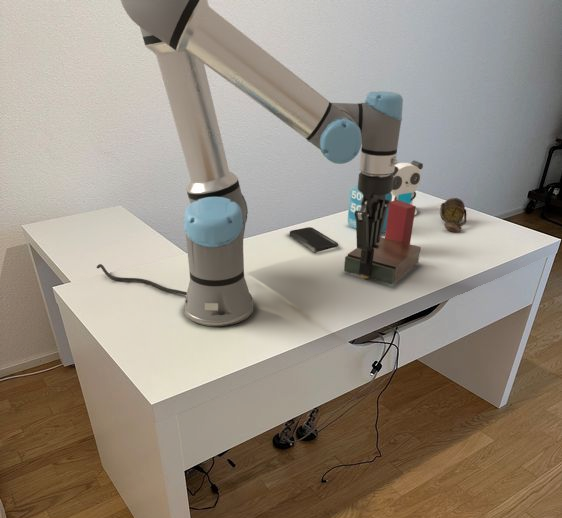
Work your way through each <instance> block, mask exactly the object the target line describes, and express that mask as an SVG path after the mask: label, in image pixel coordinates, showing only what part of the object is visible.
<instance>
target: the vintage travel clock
mask: <svg viewBox="0 0 562 518" xmlns="http://www.w3.org/2000/svg"><path fill="white" fill-rule="evenodd" d="M439 216H440V219H441V220H442V221H443V222H444V224H443V226H444V228H445V229H446V230H447V231H448V232H453V233H457V232H461V231H462V227H463V226H465V224H466V223H467V209H466V206H465V203H464V201H463V200H462V199H460V198H458V197H450V198H449V199H446V200H445V201H444V202H442V203H441V204H440V210H439ZM462 220H463V222H461V221H462Z"/></svg>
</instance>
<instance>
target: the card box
mask: <svg viewBox="0 0 562 518" xmlns="http://www.w3.org/2000/svg"><path fill="white" fill-rule="evenodd" d="M415 209H417V207H416V205H413V204H412V205H411V204H408V203H405V202H403V201H400V200H395V201H391V202H390V203H389V210H388V217H387V225H386V231H385V233H384V238H386V239H390V240H395V241H399V242H403V243H407V244H411V240H412V235H413V234H412V233H413V227H414V221H415V216H416V215H415Z"/></svg>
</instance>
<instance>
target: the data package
mask: <svg viewBox="0 0 562 518" xmlns="http://www.w3.org/2000/svg"><path fill="white" fill-rule="evenodd" d="M362 198H363V194H362V193H361V192H360V191H359V190H358V184H357V185H355V186H352V187H351V188H350V190H349V200H348V210H347V211H348V212H347V224H348V226H349V227H351V228H354V229H356V218H355V211H356V210H357V211H360V209H361V201H362ZM385 199H386V200H389V201H390V202H391V201H392V194H391V192H390V193H389V194H386V196H385ZM388 210H389V206H388V208H387V211H386V216H385V220H384V224H383V229H382V233H384V232H385V233H386V225H387V217H388Z"/></svg>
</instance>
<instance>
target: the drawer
mask: <svg viewBox="0 0 562 518" xmlns="http://www.w3.org/2000/svg"><path fill="white" fill-rule="evenodd" d="M359 268H360V259H357V258H354V257H350V256H348V255H346V256H345V257H344V267H343V270H344V272H347V273H349V274H350V273H351V274H353V275H356V276H361V277H362V278H363V279H372V280H374V281H378V282H382V283H385V284H388V285H393V284H394V283H393V280H394V273H395V269H394V268H390V267H387V266H383V265H379V264H376V263H373V264H372V272H371V275H370V276H365V275H362V274H359Z"/></svg>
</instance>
